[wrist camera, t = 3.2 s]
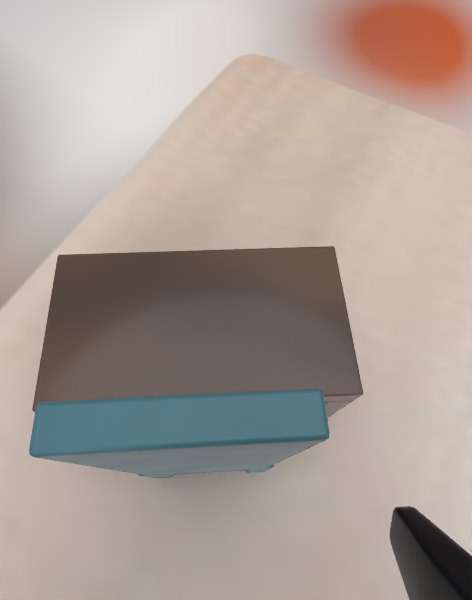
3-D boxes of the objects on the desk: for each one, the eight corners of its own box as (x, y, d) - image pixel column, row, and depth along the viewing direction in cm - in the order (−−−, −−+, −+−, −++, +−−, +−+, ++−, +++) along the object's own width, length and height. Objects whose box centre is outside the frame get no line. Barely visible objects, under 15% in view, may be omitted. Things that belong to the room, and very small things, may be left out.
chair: (263, 471, 18) (348, 438, 6) (154, 478, 18) (7, 458, 6) (255, 366, 20) (304, 182, 8) (158, 370, 20) (57, 188, 8)
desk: (320, 423, 19) (364, 394, 13) (91, 435, 18) (31, 411, 13) (304, 310, 22) (335, 245, 16) (103, 318, 21) (57, 254, 15)
